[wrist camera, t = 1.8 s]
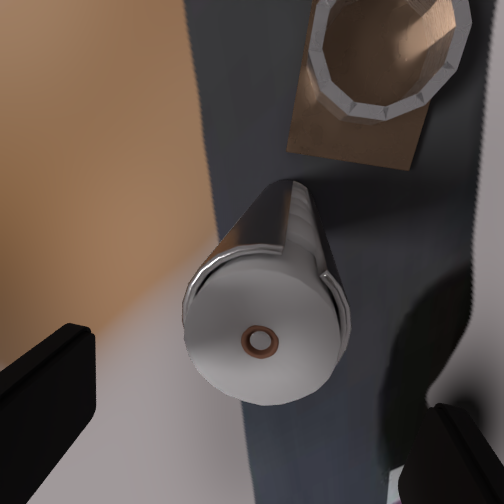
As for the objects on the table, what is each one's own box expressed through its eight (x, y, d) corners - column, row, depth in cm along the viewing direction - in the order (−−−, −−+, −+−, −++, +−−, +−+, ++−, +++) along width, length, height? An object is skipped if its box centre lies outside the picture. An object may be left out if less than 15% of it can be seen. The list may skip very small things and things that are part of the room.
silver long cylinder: (326, 219, 34) (391, 377, 10) (275, 247, 36) (234, 436, 12) (296, 167, 33) (295, 214, 9) (245, 199, 35) (135, 306, 11)
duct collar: (325, -69, 26) (333, -134, 20) (471, -54, 25) (526, -119, 19) (286, 151, 32) (284, 152, 26) (403, 170, 31) (429, 175, 25)
